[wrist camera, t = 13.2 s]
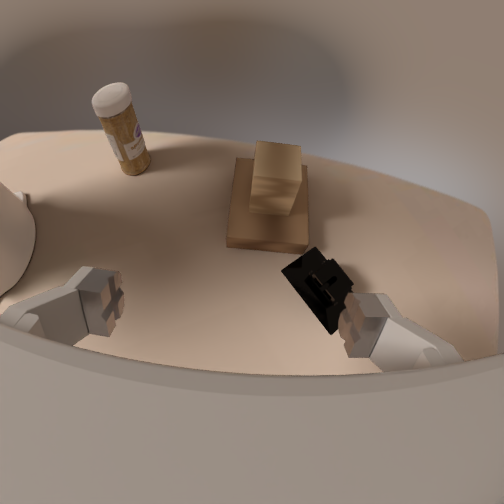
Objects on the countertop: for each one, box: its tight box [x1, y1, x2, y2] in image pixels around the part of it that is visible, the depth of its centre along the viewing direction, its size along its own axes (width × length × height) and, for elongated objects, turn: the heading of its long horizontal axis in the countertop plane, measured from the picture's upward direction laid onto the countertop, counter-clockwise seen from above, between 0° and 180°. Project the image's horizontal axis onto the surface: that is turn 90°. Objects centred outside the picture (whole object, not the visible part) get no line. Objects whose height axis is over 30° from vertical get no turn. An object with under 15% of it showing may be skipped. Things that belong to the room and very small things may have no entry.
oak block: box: [249, 141, 302, 216], centre depth 30 cm, size 4×4×7 cm
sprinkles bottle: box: [92, 83, 150, 175], centre depth 32 cm, size 5×5×14 cm
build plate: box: [281, 247, 354, 335], centre depth 32 cm, size 12×7×5 cm, turn 37°
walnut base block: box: [226, 158, 309, 254], centre depth 35 cm, size 9×11×3 cm
